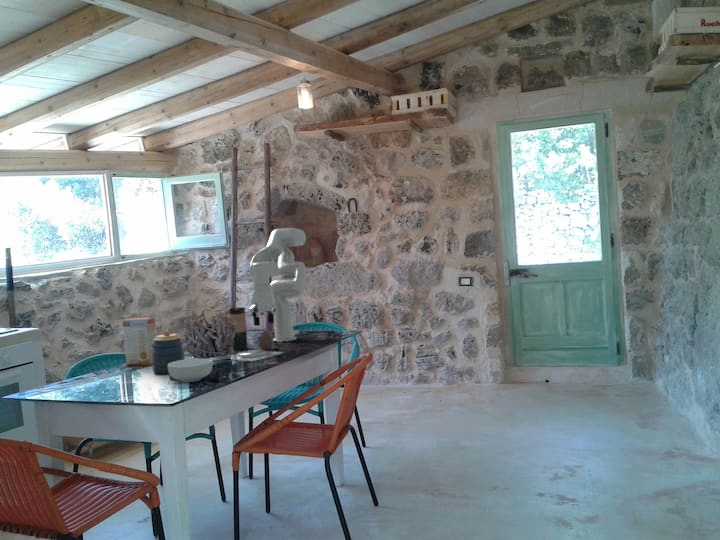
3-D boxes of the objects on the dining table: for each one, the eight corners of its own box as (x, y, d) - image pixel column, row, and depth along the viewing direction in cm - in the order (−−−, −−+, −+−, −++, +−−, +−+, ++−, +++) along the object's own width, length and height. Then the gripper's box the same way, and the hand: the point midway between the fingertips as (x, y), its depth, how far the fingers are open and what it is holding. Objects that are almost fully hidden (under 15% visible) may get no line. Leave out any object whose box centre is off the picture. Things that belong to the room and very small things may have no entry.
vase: (259, 348, 312) (258, 330, 312) (274, 347, 313) (272, 329, 312) (258, 351, 305) (257, 332, 305) (273, 350, 306) (272, 331, 305)
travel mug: (249, 347, 319) (246, 307, 317) (245, 350, 311) (242, 308, 310) (234, 348, 319) (231, 307, 318) (229, 350, 312) (226, 309, 311)
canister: (174, 375, 260) (171, 332, 260) (147, 375, 264) (143, 332, 263) (191, 368, 273) (188, 327, 272) (165, 368, 277) (162, 327, 276)
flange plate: (251, 351, 306) (251, 347, 306) (283, 353, 295) (282, 349, 295) (220, 359, 290) (219, 355, 290) (252, 361, 278) (251, 357, 278)
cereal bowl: (190, 386, 237) (188, 367, 237) (159, 383, 246) (157, 365, 246) (222, 376, 252) (221, 358, 251) (192, 374, 260) (191, 356, 260)
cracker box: (159, 363, 290) (155, 317, 289) (149, 366, 285) (145, 319, 284) (135, 362, 296) (131, 317, 295) (125, 365, 291) (121, 319, 290)
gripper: (268, 287, 316) (270, 322, 317) (243, 289, 302) (245, 326, 303) (280, 286, 312) (282, 322, 312) (254, 289, 298) (257, 326, 298)
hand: (264, 324), depth 308 cm, fingers open, 9 cm apart
